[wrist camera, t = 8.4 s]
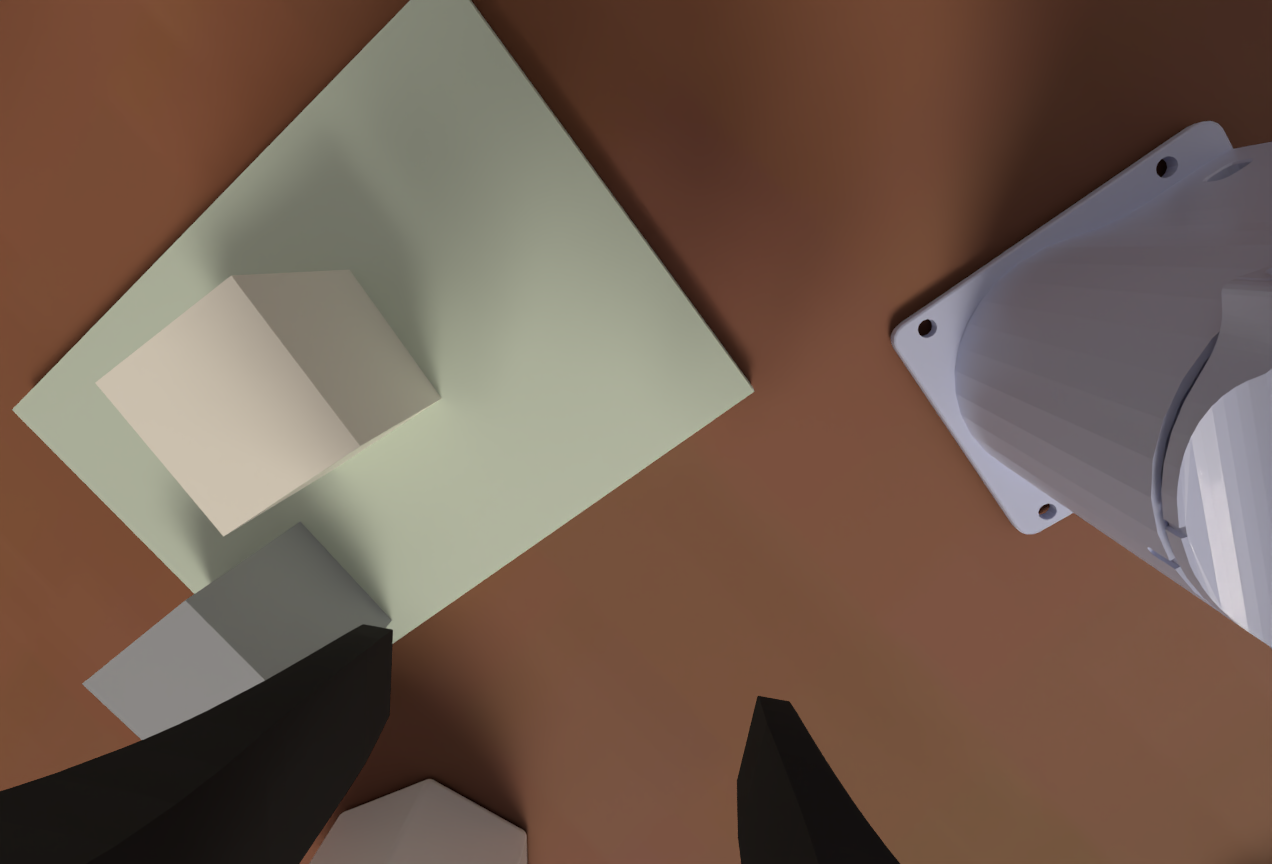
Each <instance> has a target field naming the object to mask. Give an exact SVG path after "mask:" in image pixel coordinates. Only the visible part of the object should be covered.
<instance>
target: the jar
mask: <svg viewBox="0 0 1272 864" xmlns="http://www.w3.org/2000/svg"><path fill="white" fill-rule="evenodd" d="M309 864H527V835H526V832H525V831H524V830H523V829H521V828H519V827H517V826H515V825H514V824H512V823H510V822H508V821H506V820H505V819H503V818H501V817H499V816H497V815H496V814H494V813H492V812H490V811H488V810H487V809H485V808H483V807H481V806H480V805H478V804H476V803H474V802H472V801H471V800H469V799H467V798H465V797H463V796H462V795H460V794H458V793H456V792H454V791H453V790H451V789H449V788H447V787H445V786H444V785H442V784H440V783H438V782H436V781H435V780H433V779H426V780H423V781H421V782H419V783H416V784H414V785H411V786H409V787H406V788H403V789H401V790H398V791H396V792H393V793H391V794H388V795H386V796H383V797H381V798H378V799H376V800H373V801H370V802H368V803H365V804H363V805H360V806H358V807H355V808H352V809H350V810H347V811H345V812H343V813H341V814H340V815H339V817H338V818H337V820H336V821H335V823H334V825H333V826H332V828H331V829H330V831H329V833H328V834H327V836H326V837H325V839H324V841H323V842H322V844H321V845H320V847H319V849H318V850H317V852H316V853H315V855H314V857H313V858H312V860H311V862H310V863H309Z"/></svg>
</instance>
